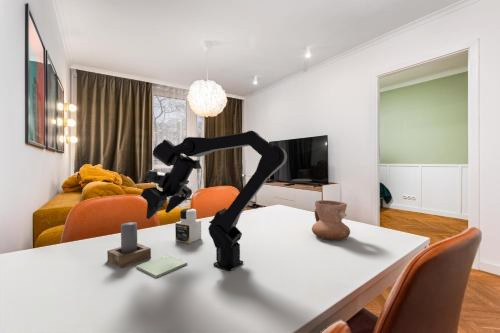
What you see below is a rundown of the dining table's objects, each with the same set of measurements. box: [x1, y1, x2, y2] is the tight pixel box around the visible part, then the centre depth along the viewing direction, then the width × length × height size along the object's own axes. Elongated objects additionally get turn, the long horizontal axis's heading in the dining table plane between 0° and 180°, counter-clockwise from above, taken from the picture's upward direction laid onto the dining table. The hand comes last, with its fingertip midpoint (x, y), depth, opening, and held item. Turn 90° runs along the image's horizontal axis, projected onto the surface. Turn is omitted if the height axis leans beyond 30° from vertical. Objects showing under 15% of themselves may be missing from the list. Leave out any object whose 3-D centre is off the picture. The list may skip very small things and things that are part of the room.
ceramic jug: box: [311, 199, 351, 241], centre depth 93 cm, size 18×14×14 cm
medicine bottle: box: [174, 207, 202, 244], centre depth 91 cm, size 7×7×12 cm
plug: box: [120, 221, 138, 255], centre depth 73 cm, size 4×4×11 cm
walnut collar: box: [106, 242, 152, 269], centre depth 73 cm, size 9×9×3 cm
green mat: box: [135, 254, 188, 279], centre depth 67 cm, size 10×10×1 cm
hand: (157, 215), depth 75 cm, fingers open, 9 cm apart
